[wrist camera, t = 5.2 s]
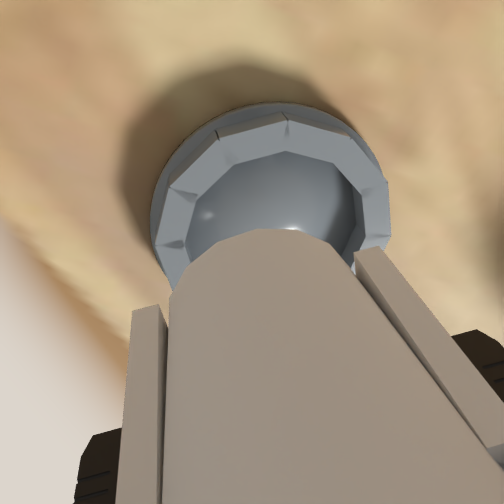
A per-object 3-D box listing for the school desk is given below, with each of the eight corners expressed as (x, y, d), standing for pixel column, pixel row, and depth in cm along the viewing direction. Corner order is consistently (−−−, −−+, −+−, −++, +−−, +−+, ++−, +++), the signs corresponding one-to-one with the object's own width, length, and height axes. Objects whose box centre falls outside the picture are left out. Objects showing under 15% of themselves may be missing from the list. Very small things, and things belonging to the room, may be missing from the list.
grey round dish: (112, 141, 24) (108, 157, 22) (372, 71, 25) (391, 81, 23) (189, 335, 32) (191, 360, 30) (387, 280, 32) (403, 301, 30)
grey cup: (375, 195, 13) (796, 624, 4) (364, 371, 16) (589, 801, 8) (128, 233, 12) (64, 832, 4) (172, 408, 16) (191, 924, 7)
